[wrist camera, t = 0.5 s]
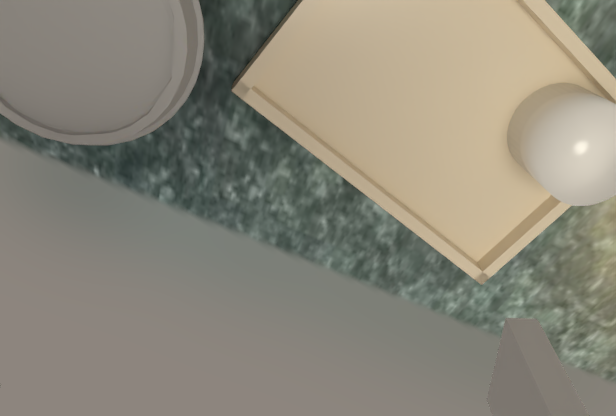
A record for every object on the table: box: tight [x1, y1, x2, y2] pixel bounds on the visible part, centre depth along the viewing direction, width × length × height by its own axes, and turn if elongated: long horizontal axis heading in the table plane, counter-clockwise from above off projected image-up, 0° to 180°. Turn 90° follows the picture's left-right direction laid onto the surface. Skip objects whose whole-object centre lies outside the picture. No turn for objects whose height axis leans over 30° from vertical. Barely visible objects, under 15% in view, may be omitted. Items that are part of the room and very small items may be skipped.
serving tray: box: [231, 0, 616, 285], centre depth 34 cm, size 15×22×2 cm
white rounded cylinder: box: [507, 83, 616, 206], centre depth 33 cm, size 6×6×5 cm
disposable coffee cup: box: [0, 0, 204, 145], centre depth 25 cm, size 10×10×12 cm
